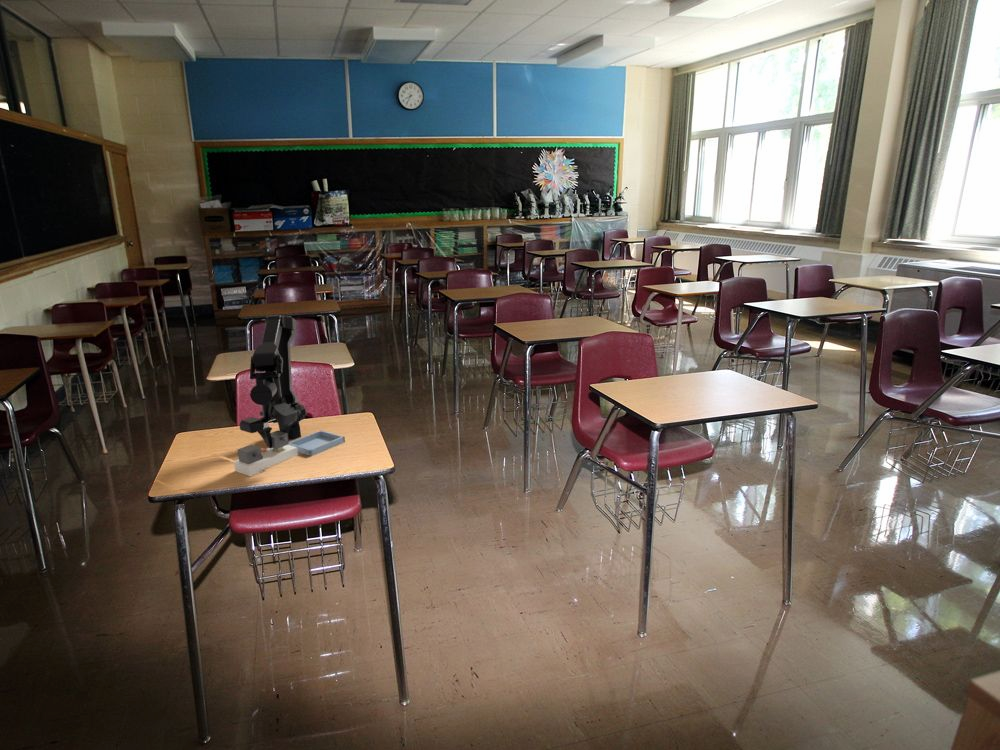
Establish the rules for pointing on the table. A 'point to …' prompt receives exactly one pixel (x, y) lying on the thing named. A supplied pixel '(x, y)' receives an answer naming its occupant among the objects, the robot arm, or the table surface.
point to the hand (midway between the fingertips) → (277, 445)
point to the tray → (317, 442)
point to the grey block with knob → (279, 440)
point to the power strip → (261, 458)
